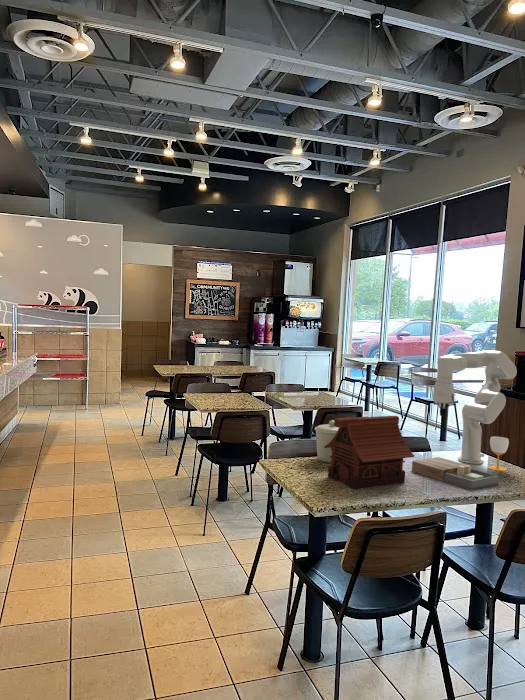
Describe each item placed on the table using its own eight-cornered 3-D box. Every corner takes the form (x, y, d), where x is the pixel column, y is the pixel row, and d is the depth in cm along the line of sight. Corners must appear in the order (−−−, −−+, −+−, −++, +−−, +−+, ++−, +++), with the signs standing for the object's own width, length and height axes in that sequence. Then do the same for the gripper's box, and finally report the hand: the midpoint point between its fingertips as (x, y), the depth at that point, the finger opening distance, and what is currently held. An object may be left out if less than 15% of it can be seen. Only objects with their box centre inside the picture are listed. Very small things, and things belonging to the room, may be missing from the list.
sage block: (483, 476, 238) (483, 482, 238) (471, 472, 243) (471, 479, 243) (475, 477, 235) (475, 484, 235) (464, 474, 240) (463, 480, 240)
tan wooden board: (438, 466, 267) (438, 457, 267) (468, 475, 252) (469, 465, 252) (411, 470, 256) (412, 460, 256) (442, 480, 241) (442, 470, 241)
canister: (342, 467, 257) (344, 425, 256) (308, 461, 265) (310, 420, 264) (352, 459, 273) (354, 420, 273) (319, 454, 281) (321, 416, 280)
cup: (503, 467, 273) (505, 436, 272) (509, 471, 264) (511, 440, 263) (485, 465, 274) (487, 435, 273) (491, 470, 265) (493, 439, 264)
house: (373, 468, 257) (376, 410, 256) (415, 485, 232) (419, 420, 231) (314, 475, 240) (318, 413, 239) (354, 494, 215) (358, 424, 214)
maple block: (465, 464, 246) (470, 466, 244) (464, 477, 246) (469, 478, 244) (457, 465, 243) (463, 467, 240) (456, 478, 243) (462, 480, 241)
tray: (469, 476, 252) (470, 467, 252) (498, 484, 239) (498, 475, 239) (443, 481, 241) (443, 472, 241) (471, 490, 228) (472, 481, 228)
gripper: (427, 379, 272) (426, 414, 273) (453, 382, 260) (451, 418, 261) (436, 378, 276) (435, 412, 277) (461, 381, 264) (460, 417, 265)
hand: (443, 415), depth 269 cm, fingers closed
